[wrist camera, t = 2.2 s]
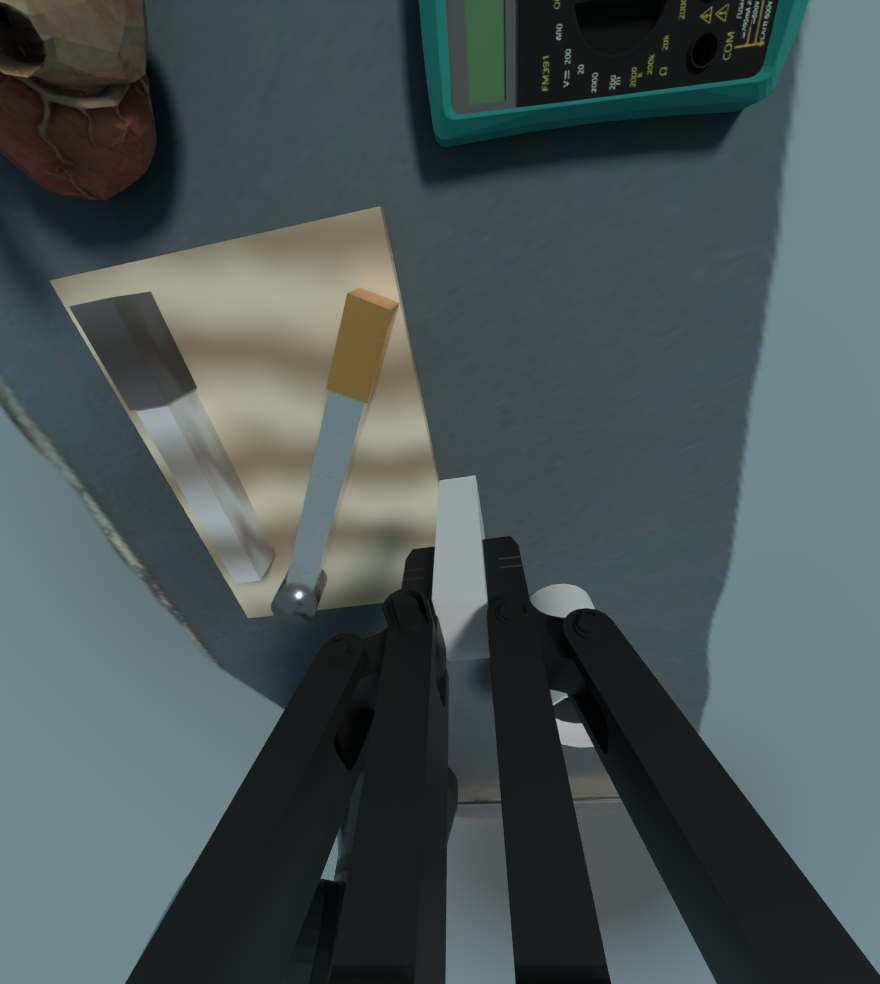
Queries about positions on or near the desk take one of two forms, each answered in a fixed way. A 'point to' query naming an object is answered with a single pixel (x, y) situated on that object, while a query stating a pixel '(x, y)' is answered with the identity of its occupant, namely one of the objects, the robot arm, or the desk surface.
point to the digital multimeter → (596, 61)
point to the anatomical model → (76, 94)
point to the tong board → (267, 398)
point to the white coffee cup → (570, 728)
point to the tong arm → (335, 448)
